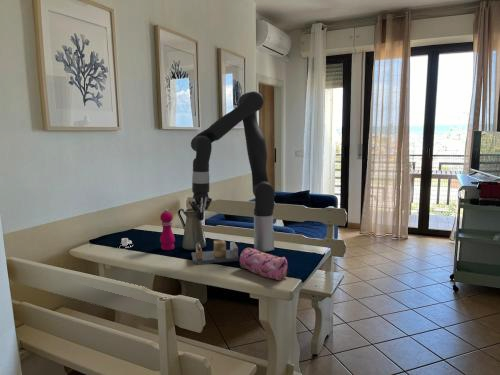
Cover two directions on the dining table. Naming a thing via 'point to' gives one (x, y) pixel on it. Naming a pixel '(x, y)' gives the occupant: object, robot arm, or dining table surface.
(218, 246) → the oak block
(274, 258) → the pencil case
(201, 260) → the vise base
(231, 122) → the robot arm
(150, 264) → the dining table surface
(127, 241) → the white looped part
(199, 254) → the sliding jaw
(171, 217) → the pepper mill
